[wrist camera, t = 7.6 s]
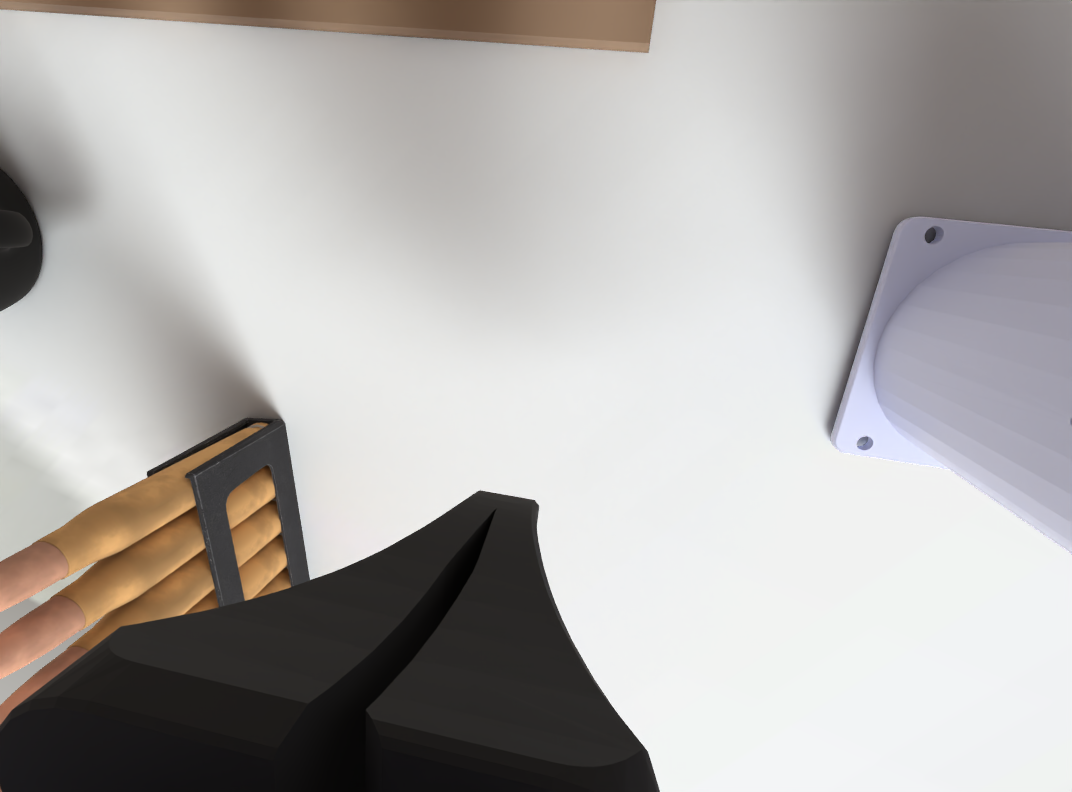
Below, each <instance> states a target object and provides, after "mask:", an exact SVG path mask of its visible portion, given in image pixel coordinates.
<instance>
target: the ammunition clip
mask: <svg viewBox="0 0 1072 792" xmlns="http://www.w3.org/2000/svg"><path fill="white" fill-rule="evenodd" d="M147 476H148V478H146V479H144V480H142V481H140V482H138V483H136V484H134V485H132V486H130V487H128V488H126V489H124V490H122V491H120V492H118V493H116V494H114V495H112V496H110V497H108V498H106V499H104V500H102V501H100V502H98V503H96V504H94V505H93V506H91V507H89V508H87V509H86V510H84V511H83V512H81V513H80V514H79V515H77V516H76V517H74V518H73V519H72V520H70V521H69V522H68V523H66V524H65V525H64V526H62V527H61V528H59V529H57V530H55V531H54V532H52V533H50V534H48V535H47V536H45V537H43V538H41V539H39V540H38V541H36V542H34V543H33V544H32V545H31V546H29V547H27V548H25V549H23V550H21V551H19V552H17V553H16V554H14V555H12V556H10V557H8V558H6V559H4V560H3V561H1V562H0V612H1V611H3V610H5V609H7V608H9V607H11V606H13V605H15V604H17V603H19V602H21V601H23V600H25V599H27V598H29V597H31V596H33V595H35V594H36V593H38V592H40V591H42V590H43V589H45V588H47V587H48V586H50V585H52V584H53V583H55V582H57V581H59V580H60V579H64V578H66V577H68V576H70V575H71V574H73V573H75V572H77V571H79V570H80V569H82V568H84V567H86V566H88V565H89V564H92V563H94V562H97V561H98V562H97V563H95V564H94V565H93V566H92V567H91V568H90V569H88V570H87V571H86V572H85V573H84V574H83V575H82V576H81V577H79V578H78V579H77V580H76V581H74V582H73V583H71V584H70V585H68V586H67V587H65V588H64V589H62V590H61V591H60V592H58V593H57V594H55V595H54V596H52V597H51V598H50V600H48V601H46V602H45V603H43V604H42V605H40V606H39V607H37V608H36V609H34V610H32V611H31V612H29V613H28V614H26V615H25V616H24V617H22V618H20V619H19V620H17V621H16V622H15V623H13V624H12V625H11V626H9V627H8V628H7V629H5V630H4V631H3V632H1V633H0V679H2V678H3V677H5V676H7V675H9V674H11V673H13V672H14V671H17V670H19V669H20V668H22V667H24V666H26V665H27V664H29V663H31V662H32V661H34V660H36V659H37V658H39V657H41V656H42V655H44V654H46V653H47V652H49V651H51V650H52V649H54V648H55V647H57V646H58V645H60V644H61V643H63V642H64V641H65V640H67V639H68V638H69V637H71V636H72V635H74V634H75V633H77V632H78V631H80V630H83V629H84V628H86V627H87V626H89V625H90V624H92V623H93V622H95V621H96V620H98V619H99V618H101V617H102V616H104V615H105V614H106V615H105V616H104V617H103V618H102V619H101V620H100V621H99V622H98V623H97V624H96V625H95V626H94V627H93V628H92V629H91V630H89V631H88V632H87V633H85V634H84V635H83V636H82V637H80V638H79V639H78V640H77V641H75V642H74V643H73V644H72V645H70V646H69V647H68V648H67V650H66V651H64V652H63V653H62V654H60V655H59V656H58V657H56V658H55V659H54V660H52V661H51V662H50V663H48V664H47V665H46V666H44V667H43V668H42V669H40V670H39V671H38V672H37V673H36V674H35V675H33V676H32V677H31V678H30V679H29V680H27V681H26V682H25V683H24V684H23V685H22V686H21V687H19V688H18V689H17V690H16V691H15V692H14V693H13V694H12V695H11V696H10V697H9V698H7V700H5V701H4V703H2V704H1V705H0V725H1V724H2V722H3V721H4V720H5V718H6V717H7V716H8V714H9V713H10V712H11V710H12V709H14V708H15V707H16V706H17V705H19V704H20V703H21V702H23V701H24V700H25V699H27V698H28V697H29V696H30V695H32V694H33V693H34V692H36V691H37V690H38V689H40V688H41V687H42V686H44V685H45V684H46V683H47V682H49V681H50V680H51V679H53V678H54V677H55V676H57V675H58V674H59V673H60V672H62V671H63V670H64V669H66V668H67V667H68V666H70V665H71V664H72V663H73V662H75V661H76V660H77V659H79V658H80V657H81V656H83V655H84V654H85V653H86V652H88V651H89V650H90V649H92V648H93V647H94V646H96V645H97V644H98V643H100V642H101V641H102V640H103V639H105V638H106V637H107V636H109V635H110V634H111V633H113V632H114V631H115V630H117V629H118V628H119V627H121V626H126V625H132V624H138V623H144V622H149V621H154V620H159V619H164V618H170V617H175V616H180V615H185V614H190V613H195V612H201V611H205V610H209V609H214V608H218V607H222V606H226V605H230V604H234V603H238V602H242V601H246V600H250V599H253V598H257V597H260V596H264V595H267V594H271V593H274V592H278V591H281V590H284V589H287V588H290V587H293V586H296V585H298V584H301V583H304V582H307V581H310V578H309V571H308V565H307V559H306V552H305V546H304V540H303V533H302V527H301V521H300V514H299V508H298V502H297V495H296V489H295V483H294V476H293V470H292V464H291V457H290V451H289V445H288V438H287V432H286V426H285V423H284V422H282V421H281V420H273V419H254V418H245V419H243V420H242V421H240V422H238V423H236V424H234V425H232V426H231V427H229V428H227V429H225V430H223V431H221V432H220V433H218V434H216V435H214V436H212V437H210V438H209V439H207V440H205V441H203V442H201V443H199V444H198V445H196V446H194V447H192V448H190V449H188V450H187V451H185V452H183V453H181V454H179V455H177V456H176V457H174V458H172V459H170V460H168V461H166V462H165V463H163V464H161V465H159V466H157V467H155V468H153V469H151V470H149V471H148V472H147ZM0 792H2V791H1V787H0Z"/></svg>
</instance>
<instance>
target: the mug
mask: <svg viewBox="0 0 1072 792" xmlns="http://www.w3.org/2000/svg"><path fill="white" fill-rule="evenodd" d="M41 262H42V244H41V237H40V233H39V229H38V225H37V222H36V219H35V217H34V214H33V212H32V210H31V208H30V206H29V204H28V202H27V200H26V199H25V197H24V196H23V194H22V192H21V191H20V190H19V188H18V187H17V186H16V185H15V183H14V182H13V181H12V180H11V179H10V178H9V177H8V176H7V175H6V174H5V173H4V172H3V171H2V170H1V169H0V311H2V310H4V309H6V308H8V307H9V306H11V305H13V304H14V303H16V302H17V301H19V300H20V299H21V298H23V297H24V296H25V295H26V294H27V293H28V292H29V291H30V290H31V288H32V287H33V285H34V284H35V282H36V280H37V278H38V275H39V272H40V268H41Z"/></svg>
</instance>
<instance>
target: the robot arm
mask: <svg viewBox="0 0 1072 792" xmlns="http://www.w3.org/2000/svg"><path fill="white" fill-rule="evenodd" d="M931 227H933V228H934V229H935V230H936V237H935V239H934V240H933V241H932V242H930V243H927V242H926V240H925V233H926V232H927V230H928V229H929V228H931ZM865 436H868V441H867V442H866V444H864V445H862V446H857V441H858V440H859V439H860V438H861V437H865ZM831 442H832V445H833V446H834V447H835V448H836V449H837V450H839V451H840V452H842V453H845V454H852V455H858V456H865V457H871V458H878V459H884V460H891V461H897V462H904V463H910V464H916V465H923V466H929V467H936V468H942V469H949V470H951V471H952V472H954V473H955V474H957V475H958V476H960V477H961V478H962V479H964V480H965V481H967V482H968V483H970V484H971V485H973V486H974V487H975V488H977V489H978V490H980V491H981V492H983V493H984V494H985V495H987V496H988V497H990V498H991V499H993V500H994V501H996V502H997V503H998V504H1000V505H1001V506H1003V507H1004V508H1006V509H1007V510H1009V511H1010V512H1011V513H1013V514H1014V515H1016V516H1017V517H1019V518H1020V519H1022V520H1023V521H1024V522H1026V523H1027V524H1029V525H1030V526H1032V527H1033V528H1035V529H1036V530H1037V531H1039V532H1040V533H1042V534H1043V535H1045V536H1046V537H1047V538H1049V539H1050V540H1052V541H1053V542H1055V543H1056V544H1058V545H1059V546H1060V547H1062V548H1063V549H1065V550H1066V551H1068V552H1069V553H1071V554H1072V231H1063V230H1053V229H1043V228H1033V227H1023V226H1013V225H1003V224H993V223H983V222H973V221H963V220H953V219H943V218H933V217H923V216H920V217H909V218H907V219H905V220H903V221H902V222H900V223H899V224H898V225H897V227H896V229H895V231H894V233H893V236H892V240H891V243H890V246H889V249H888V253H887V256H886V259H885V262H884V266H883V269H882V272H881V275H880V279H879V282H878V285H877V288H876V291H875V295H874V298H873V301H872V304H871V308H870V311H869V314H868V317H867V321H866V324H865V327H864V330H863V334H862V337H861V340H860V343H859V347H858V350H857V353H856V356H855V359H854V363H853V366H852V369H851V372H850V376H849V379H848V382H847V385H846V389H845V392H844V395H843V398H842V402H841V405H840V408H839V411H838V415H837V418H836V421H835V424H834V428H833V431H832V434H831ZM538 511H539V505H538V504H537V503H536V501H535V500H531V499H525V498H519V497H514V496H508V495H502V494H497V493H491V492H485V491H478V492H476V493H475V494H473V495H472V496H470V497H469V498H467V499H466V500H464V501H463V502H461V503H460V504H458V505H457V506H455V507H454V508H452V509H451V510H449V511H448V512H446V513H445V514H443V515H442V516H440V517H439V518H437V519H436V520H434V521H433V522H431V523H429V524H428V525H426V526H425V527H423V528H421V529H420V530H418V531H416V532H414V533H412V534H411V535H409V536H407V537H405V538H404V539H402V540H400V541H398V542H397V543H395V544H393V545H391V546H389V547H388V548H386V549H384V550H382V551H380V552H378V553H376V554H374V555H371V556H369V557H367V558H365V559H363V560H361V561H358V562H356V563H354V564H351V565H349V566H347V567H345V568H342V569H340V570H337V571H335V572H332V573H329V574H327V575H324V576H321V577H318V578H315V579H313V580H310V581H307V582H304V583H301V584H298V585H296V586H293V587H290V588H287V589H284V590H281V591H278V592H274V593H271V594H267V595H264V596H260V597H257V598H253V599H250V600H246V601H242V602H238V603H234V604H230V605H226V606H222V607H218V608H214V609H209V610H205V611H201V612H195V613H190V614H185V615H180V616H175V617H170V618H164V619H159V620H154V621H149V622H144V623H138V624H132V625H126V626H121V627H119V628H118V629H117V630H115V631H114V632H113V633H111V634H110V635H109V636H107V637H106V638H105V639H103V640H102V641H101V642H100V643H98V644H97V645H96V646H94V647H93V648H92V649H90V650H89V651H88V652H86V653H85V654H84V655H83V656H81V657H80V658H79V659H77V660H76V661H75V662H73V663H72V664H71V665H70V666H68V667H67V668H66V669H64V670H63V671H62V672H60V673H59V674H58V675H57V676H55V677H54V678H53V679H51V680H50V681H49V682H47V683H46V684H45V685H44V686H42V687H41V688H40V689H38V690H37V691H36V692H34V693H33V694H32V695H30V696H29V697H28V698H27V699H25V700H24V701H23V702H21V703H20V704H19V705H17V706H16V707H15V708H14V709H12V710H11V712H10V713H9V714H8V716H7V717H6V718H5V720H4V721H3V722H2V724H1V725H0V787H1V791H2V792H660V791H659V787H658V784H657V781H656V777H655V774H654V770H653V767H652V764H651V761H650V757H649V754H648V751H647V750H646V749H645V747H644V746H643V745H642V744H641V742H640V741H639V740H638V739H637V737H636V736H635V735H634V734H633V732H632V731H631V730H630V729H629V727H628V726H627V725H626V724H625V722H624V721H623V720H622V719H621V717H620V716H619V715H618V713H617V712H616V711H615V709H614V708H613V707H612V705H611V704H610V702H609V701H608V699H607V698H606V696H605V695H604V693H603V692H602V690H601V689H600V687H599V686H598V684H597V683H596V681H595V680H594V678H593V676H592V675H591V673H590V671H589V669H588V668H587V666H586V664H585V662H584V661H583V659H582V657H581V655H580V654H579V652H578V650H577V648H576V647H575V645H574V643H573V641H572V639H571V637H570V635H569V633H568V631H567V629H566V627H565V625H564V623H563V620H562V618H561V616H560V613H559V611H558V609H557V606H556V604H555V601H554V598H553V596H552V593H551V590H550V587H549V584H548V580H547V577H546V574H545V570H544V566H543V562H542V558H541V553H540V548H539V543H538V536H537V519H538Z"/></svg>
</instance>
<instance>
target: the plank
mask: <svg viewBox="0 0 1072 792" xmlns="http://www.w3.org/2000/svg"><path fill="white" fill-rule="evenodd" d="M655 4H656V0H0V9H6V10H21V11H35V12H50V13H65V14H80V15H95V16H110V17H124V18H139V19H154V20H169V21H184V22H199V23H214V24H228V25H243V26H258V27H273V28H288V29H303V30H317V31H332V32H347V33H362V34H377V35H392V36H407V37H421V38H436V39H451V40H466V41H481V42H496V43H510V44H525V45H540V46H555V47H570V48H585V49H599V50H614V51H629V52H644V53H648V51H649V44H650V38H651V31H652V24H653V18H654V11H655Z"/></svg>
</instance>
